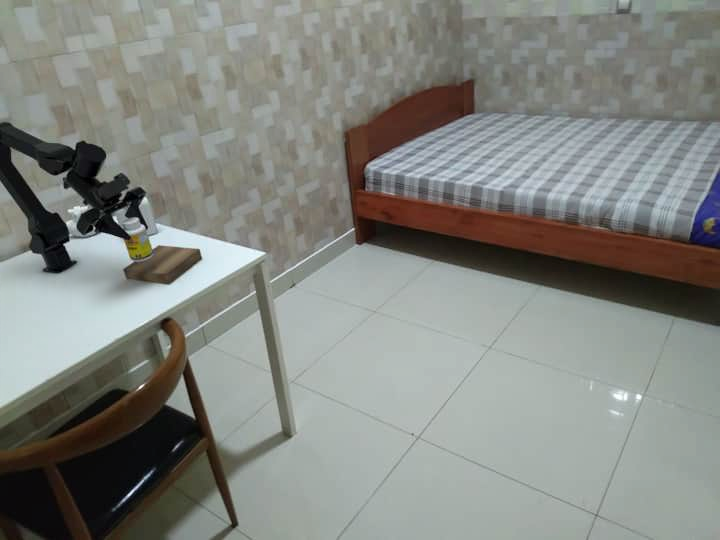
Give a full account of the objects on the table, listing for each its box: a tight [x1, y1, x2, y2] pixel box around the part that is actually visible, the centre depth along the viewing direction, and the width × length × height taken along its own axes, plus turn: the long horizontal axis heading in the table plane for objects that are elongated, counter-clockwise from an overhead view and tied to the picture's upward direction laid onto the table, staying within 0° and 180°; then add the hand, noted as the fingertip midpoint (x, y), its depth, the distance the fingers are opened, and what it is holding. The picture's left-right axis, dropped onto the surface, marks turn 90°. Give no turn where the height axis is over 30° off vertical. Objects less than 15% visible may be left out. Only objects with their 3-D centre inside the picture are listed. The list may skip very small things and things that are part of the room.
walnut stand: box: [122, 245, 203, 285], centre depth 137 cm, size 14×14×3 cm
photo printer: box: [114, 196, 159, 237], centre depth 156 cm, size 10×4×12 cm, turn 123°
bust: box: [65, 205, 96, 238], centre depth 162 cm, size 12×8×11 cm
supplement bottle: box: [122, 217, 153, 262], centre depth 127 cm, size 6×6×10 cm
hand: (138, 234), depth 126 cm, fingers closed on supplement bottle, 6 cm apart
